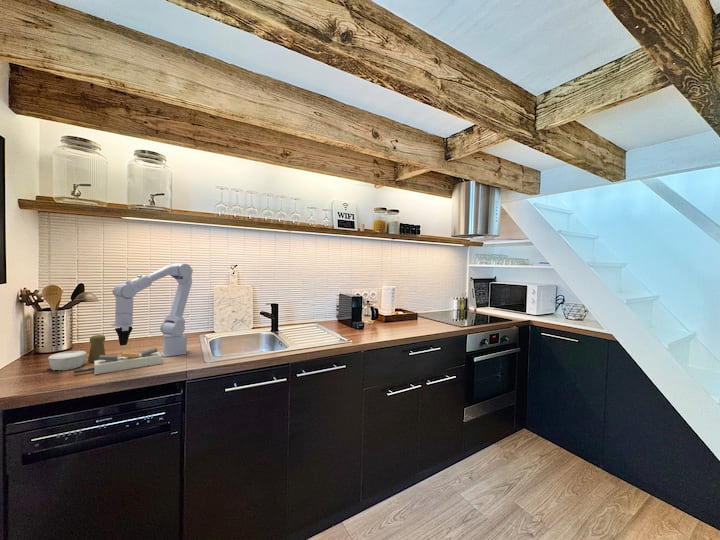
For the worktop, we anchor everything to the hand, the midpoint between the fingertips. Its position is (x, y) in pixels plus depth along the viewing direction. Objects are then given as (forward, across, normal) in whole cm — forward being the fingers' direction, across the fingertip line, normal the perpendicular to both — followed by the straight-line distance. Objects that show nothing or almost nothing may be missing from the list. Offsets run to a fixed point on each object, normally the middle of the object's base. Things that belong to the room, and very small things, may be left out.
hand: (123, 344), depth 122 cm
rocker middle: (+5, 0, +2) cm, 6 cm away
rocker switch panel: (+9, 0, -1) cm, 9 cm away
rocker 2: (+5, 0, +9) cm, 11 cm away
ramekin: (+10, -13, -17) cm, 23 cm away
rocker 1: (+5, 0, -5) cm, 7 cm away
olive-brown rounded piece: (+10, -17, -8) cm, 21 cm away
